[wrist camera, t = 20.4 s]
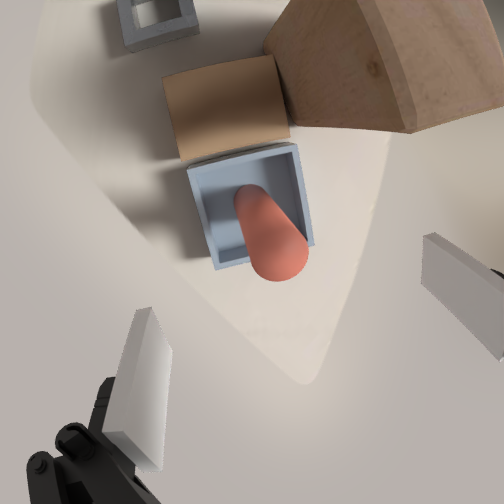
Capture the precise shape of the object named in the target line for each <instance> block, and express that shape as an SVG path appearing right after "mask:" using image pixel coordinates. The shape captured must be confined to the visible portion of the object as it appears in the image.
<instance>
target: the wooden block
mask: <svg viewBox="0 0 504 504" xmlns="http://www.w3.org/2000/svg"><path fill="white" fill-rule="evenodd" d="M263 49H264V52H265V54H266V55H272V54H273V56H274V60H275V65H276V69H277V73H278V78H279V82H280V87H281V92H282V94H283V97H284V99H285V102H286V104H287V107H288V109H289V112H290V114H291V117H292V119H293V121H294V122H295V123H296V124H297V126H302V127H332V128H351V129H366V130H378V131H389V132H398V133H407V134H412V133H415V132H418V131H421V130H424V129H427V128H430V127H433V126H437V125H440V124H443V123H447V122H450V121H453V120H456V119H460V118H463V117H467V116H470V115H474V114H477V113H481V112H484V111H488V110H491V109H495V108H499V107H502V106H504V57H503V54H502V51H501V48H500V44H499V41H498V38H497V36H496V33H495V30H494V27H493V25H492V22H491V20H490V17H489V14H488V12H487V10H486V7H485V5H484V3H483V0H290V2H289V3H288V5H287V6H286V8H285V9H284V11H283V12H282V14H281V15H280V17H279V18H278V20H277V21H276V23H275V24H274V26H273V28H272V29H271V31H270V32H269V34H268V35H267V37H266V39H265V40H264V42H263Z"/></svg>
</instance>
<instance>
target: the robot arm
mask: <svg viewBox="0 0 504 504" xmlns="http://www.w3.org/2000/svg"><path fill="white" fill-rule="evenodd" d="M421 284H422V285H423V286H424V287H425V288H427V290H429V291H430V292H431V293H432V294H433V295H434V296H435V297H436V298H437V299H438V300H439V301H440V302H441V303H442V304H443V305H444V306H445V307H446V308H447V309H448V310H450V311H451V312H452V313H453V314H454V315H455V316H456V317H457V318H458V319H459V320H460V321H461V322H462V323H463V324H464V325H465V326H466V327H467V328H468V329H469V330H470V331H471V332H472V334H474V335H475V337H476V338H477V339H478V340H479V341H480V342H481V343H482V344H483V345H484V346H485V347H486V348H487V349H488V350H489V351H490V352H491V353H492V354H493V356H494V357H495V358H496V359H497V360H498V361H499V362H500V361H502V360H503V359H504V274H502V273H500V272H498V271H496V270H493V269H489V268H487V267H486V266H485V265H483V264H482V263H480V262H479V261H477V260H476V259H474V258H473V257H472V256H470V255H469V254H467V253H466V252H464V251H463V250H461V249H460V248H458V247H457V246H455V245H454V244H452V243H451V242H449V241H448V240H446V239H444V238H443V237H441V236H440V235H438V234H437V233H435V232H434V233H431V234H428V235H424V236H423V259H422V277H421ZM172 353H173V352H172V350H171V348H170V346H169V344H168V342H167V339H166V337H165V335H164V333H163V331H162V329H161V327H160V325H159V323H158V320H157V318H156V316H155V314H154V312H153V310H152V307H148V308H144V309H140V310H136V312H135V315H134V318H133V321H132V325H131V328H130V331H129V334H128V337H127V340H126V344H125V347H124V350H123V353H122V357H121V360H120V364H119V367H118V371H117V374H116V377H110V378H106V380H105V381H104V382H103V384H102V385H101V386H100V388H99V391H98V394H97V400H96V401H95V405H94V407H95V408H93V412H92V415H91V419H90V422H89V426H88V429H87V428H86V427H85V426H84V425H83V424H80V423H77V422H76V423H70V424H68V425H66V426H64V427H63V428H62V429H61V430H60V431H59V432H58V434H57V436H56V440H55V445H56V449H57V450H58V451H59V452H61V453H62V454H63V456H60V457H57V458H53V457H52V456H51V455H50V454H49V453H48V452H45V451H40V452H37V453H35V454H33V455H32V456H31V457H30V459H29V461H28V463H27V469H26V471H27V479H28V488H29V495H30V502H31V504H161V503H160V502H159V501H158V500H157V499H156V498H155V496H154V495H153V494H152V493H151V492H150V491H149V490H148V488H146V486H145V485H144V484H143V483H142V482H141V480H140V479H139V478H138V477H137V476H136V475H135V465H136V466H137V467H138V468H139V469H140V470H141V471H143V472H162V471H163V451H164V438H165V424H166V411H167V401H168V390H169V380H170V371H171V362H172Z"/></svg>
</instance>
